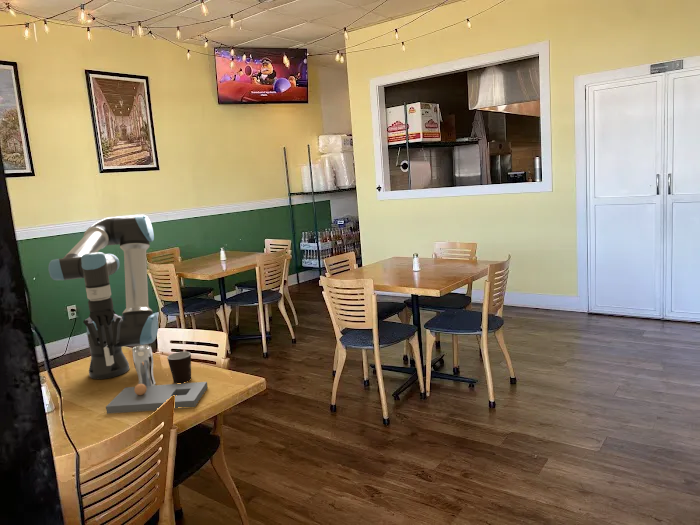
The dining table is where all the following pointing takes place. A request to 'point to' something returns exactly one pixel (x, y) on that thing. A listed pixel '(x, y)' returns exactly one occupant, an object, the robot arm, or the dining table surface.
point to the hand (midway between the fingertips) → (110, 364)
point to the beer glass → (144, 364)
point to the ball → (140, 389)
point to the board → (157, 397)
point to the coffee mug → (180, 366)
